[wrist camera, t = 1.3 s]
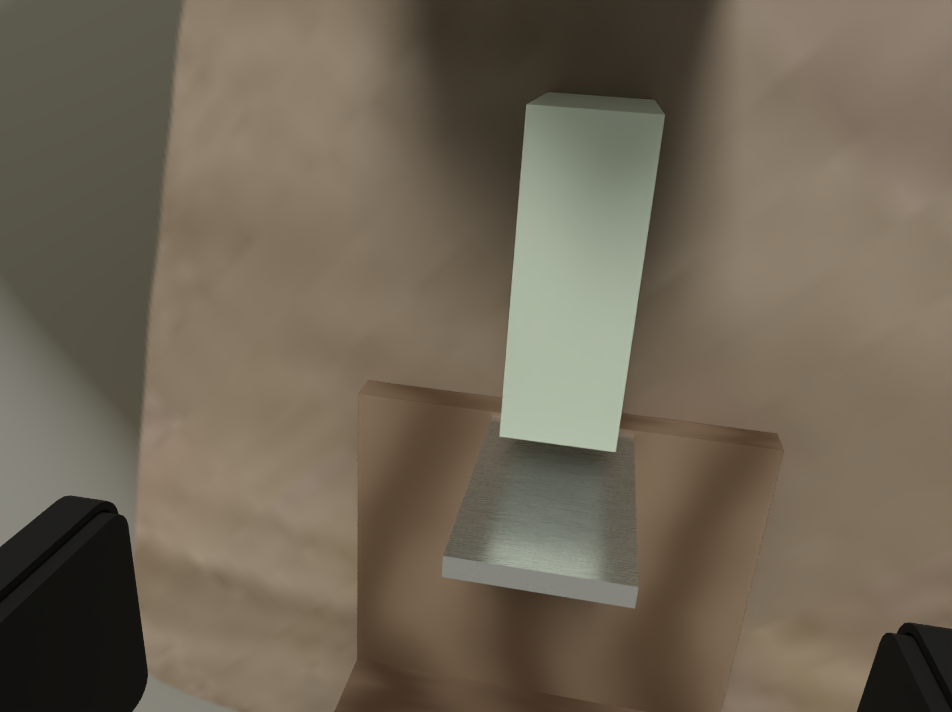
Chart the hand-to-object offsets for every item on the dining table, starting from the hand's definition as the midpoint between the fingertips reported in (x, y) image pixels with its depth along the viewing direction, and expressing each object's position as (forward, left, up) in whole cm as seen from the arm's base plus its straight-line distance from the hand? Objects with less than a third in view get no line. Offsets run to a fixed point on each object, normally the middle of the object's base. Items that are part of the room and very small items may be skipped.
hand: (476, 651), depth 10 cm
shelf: (0, +16, -24) cm, 28 cm away
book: (0, 0, -24) cm, 24 cm away
